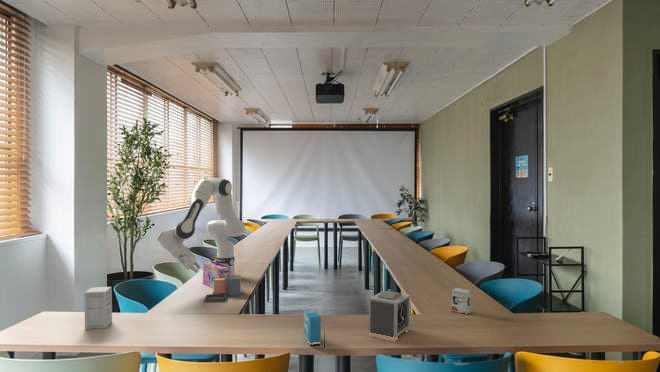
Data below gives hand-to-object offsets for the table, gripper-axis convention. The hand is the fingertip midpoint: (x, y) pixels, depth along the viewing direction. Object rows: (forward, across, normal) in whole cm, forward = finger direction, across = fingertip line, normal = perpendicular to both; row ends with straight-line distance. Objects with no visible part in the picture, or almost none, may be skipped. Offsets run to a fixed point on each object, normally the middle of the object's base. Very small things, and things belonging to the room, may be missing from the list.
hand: (198, 270), depth 266 cm
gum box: (+16, +20, +5) cm, 26 cm away
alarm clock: (+76, -74, -56) cm, 120 cm away
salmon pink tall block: (+19, 0, +2) cm, 19 cm away
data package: (+51, -80, -31) cm, 100 cm away
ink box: (+108, -48, -88) cm, 148 cm away
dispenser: (+21, 0, -1) cm, 21 cm away
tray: (+18, -11, +2) cm, 21 cm away
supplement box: (-16, -50, +37) cm, 64 cm away
